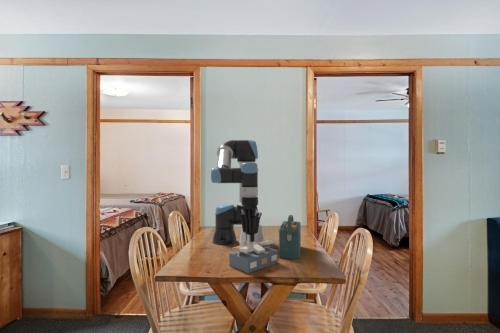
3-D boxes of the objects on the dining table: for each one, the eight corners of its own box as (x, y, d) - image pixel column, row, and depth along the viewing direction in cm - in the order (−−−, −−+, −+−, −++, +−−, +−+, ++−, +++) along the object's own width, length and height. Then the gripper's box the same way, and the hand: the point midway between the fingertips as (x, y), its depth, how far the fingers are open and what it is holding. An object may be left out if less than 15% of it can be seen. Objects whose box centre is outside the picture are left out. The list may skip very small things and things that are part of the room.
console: (228, 265, 127) (228, 249, 128) (259, 256, 142) (259, 241, 142) (248, 273, 118) (248, 255, 118) (278, 262, 132) (278, 246, 133)
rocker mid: (243, 245, 132) (244, 241, 132) (250, 243, 136) (251, 239, 135) (256, 255, 125) (258, 251, 125) (264, 253, 129) (265, 249, 128)
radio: (300, 259, 137) (300, 220, 137) (278, 258, 139) (278, 219, 139) (300, 246, 162) (300, 212, 162) (282, 245, 164) (282, 212, 164)
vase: (266, 254, 146) (266, 226, 146) (240, 255, 143) (240, 227, 144) (261, 247, 159) (261, 221, 160) (237, 248, 157) (237, 222, 157)
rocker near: (232, 252, 127) (231, 247, 127) (240, 250, 131) (240, 245, 131) (246, 254, 120) (246, 249, 120) (254, 252, 124) (254, 247, 124)
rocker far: (253, 248, 137) (252, 243, 137) (260, 246, 140) (259, 242, 141) (267, 246, 130) (266, 241, 130) (274, 244, 133) (273, 239, 134)
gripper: (234, 196, 125) (234, 247, 124) (254, 197, 116) (254, 253, 115) (246, 195, 130) (246, 244, 129) (265, 196, 121) (266, 249, 120)
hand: (250, 248), depth 122 cm, fingers closed
